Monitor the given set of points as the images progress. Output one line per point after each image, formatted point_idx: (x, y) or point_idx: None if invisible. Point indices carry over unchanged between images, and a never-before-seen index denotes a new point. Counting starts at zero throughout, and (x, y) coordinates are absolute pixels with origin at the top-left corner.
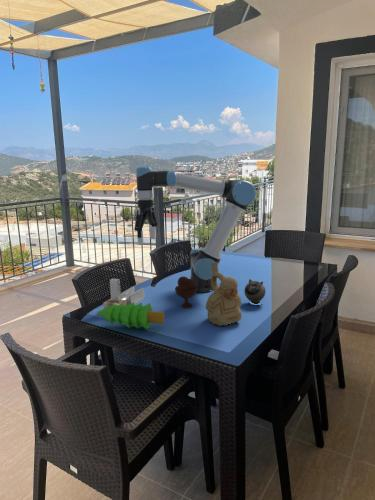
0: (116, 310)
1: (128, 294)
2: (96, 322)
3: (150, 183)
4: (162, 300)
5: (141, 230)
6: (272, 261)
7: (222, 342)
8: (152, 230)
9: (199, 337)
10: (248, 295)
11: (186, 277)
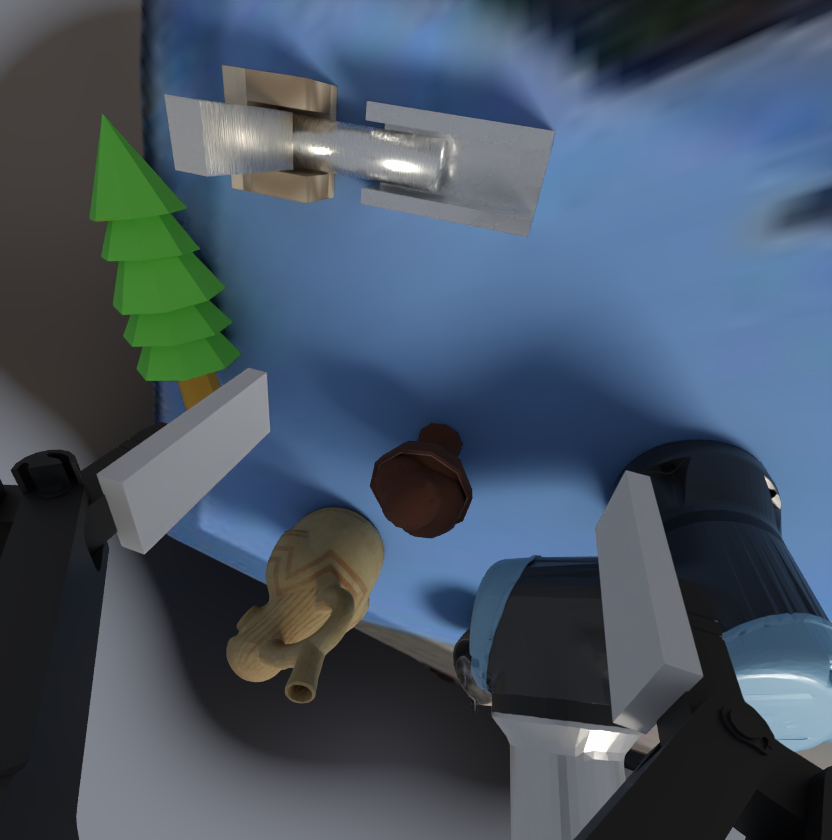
0: (104, 245)
1: (402, 167)
2: (172, 94)
3: None
4: (494, 337)
5: (95, 550)
6: None
7: (231, 521)
8: (624, 617)
9: (231, 479)
10: (461, 638)
11: (404, 529)
